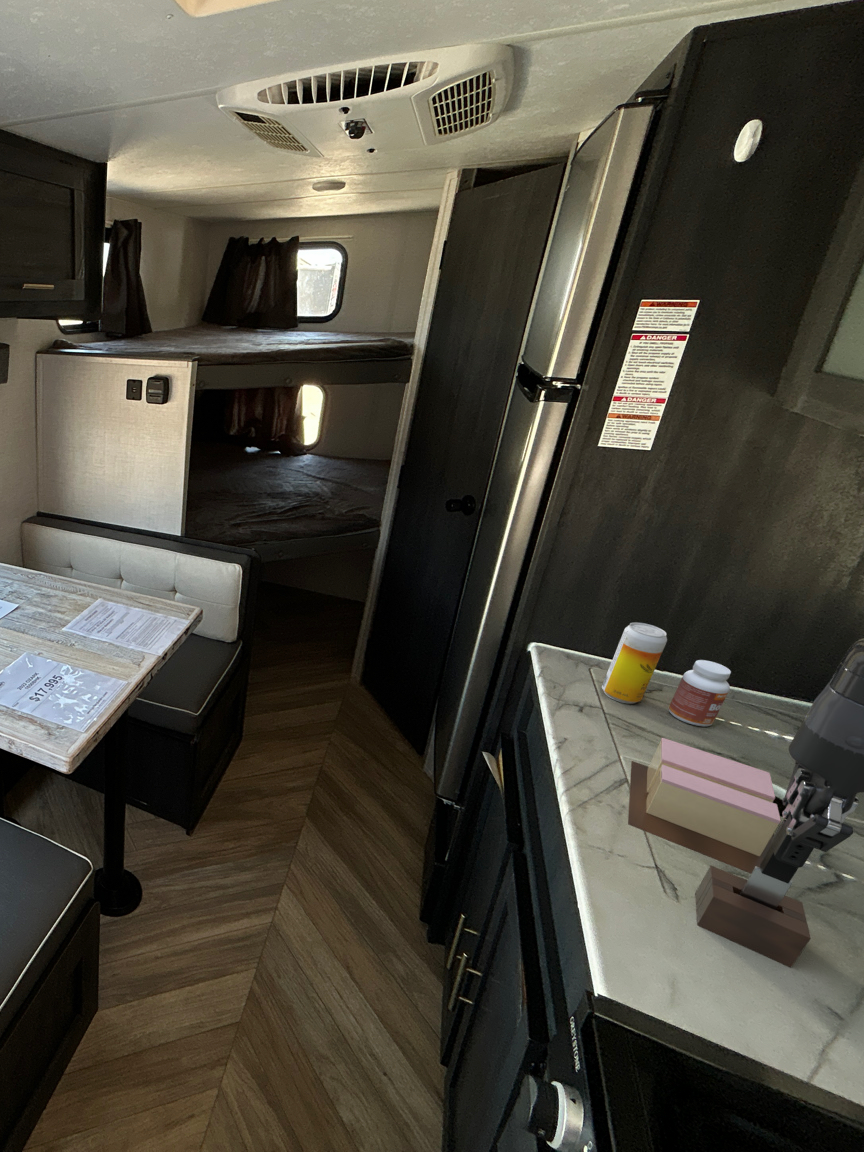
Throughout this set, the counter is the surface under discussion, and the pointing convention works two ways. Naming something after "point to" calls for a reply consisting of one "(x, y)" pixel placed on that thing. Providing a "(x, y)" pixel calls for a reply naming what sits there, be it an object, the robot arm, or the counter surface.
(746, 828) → the cake slice
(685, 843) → the cake board
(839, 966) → the counter surface
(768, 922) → the knife block
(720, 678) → the pill bottle
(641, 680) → the beer can
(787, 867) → the knife
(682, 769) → the cake
